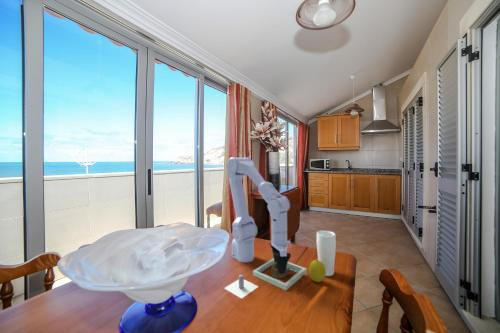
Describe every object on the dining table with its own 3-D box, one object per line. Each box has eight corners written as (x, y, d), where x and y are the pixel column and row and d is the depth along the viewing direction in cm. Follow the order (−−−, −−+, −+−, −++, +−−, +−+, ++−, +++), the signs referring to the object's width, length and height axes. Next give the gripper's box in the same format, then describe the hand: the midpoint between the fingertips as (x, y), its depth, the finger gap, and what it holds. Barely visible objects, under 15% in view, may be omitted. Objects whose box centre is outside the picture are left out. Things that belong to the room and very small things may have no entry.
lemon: (326, 288, 69) (326, 264, 69) (309, 286, 70) (309, 262, 70) (324, 279, 74) (324, 256, 74) (308, 277, 75) (308, 255, 75)
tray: (252, 277, 76) (252, 271, 76) (274, 263, 86) (274, 257, 86) (286, 293, 67) (286, 285, 66) (306, 275, 77) (306, 268, 77)
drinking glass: (316, 276, 76) (315, 235, 76) (317, 267, 83) (316, 229, 82) (336, 279, 74) (336, 237, 74) (335, 270, 80) (335, 231, 80)
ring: (272, 279, 74) (272, 270, 74) (270, 271, 79) (270, 263, 79) (291, 278, 74) (291, 270, 74) (288, 270, 79) (288, 262, 79)
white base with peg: (224, 291, 68) (223, 276, 68) (241, 280, 74) (240, 267, 74) (241, 301, 63) (241, 286, 63) (258, 289, 69) (258, 275, 69)
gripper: (295, 237, 69) (295, 277, 69) (285, 223, 84) (285, 257, 84) (274, 237, 69) (274, 278, 69) (267, 224, 83) (268, 258, 83)
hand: (279, 267), depth 76 cm, fingers open, 7 cm apart
